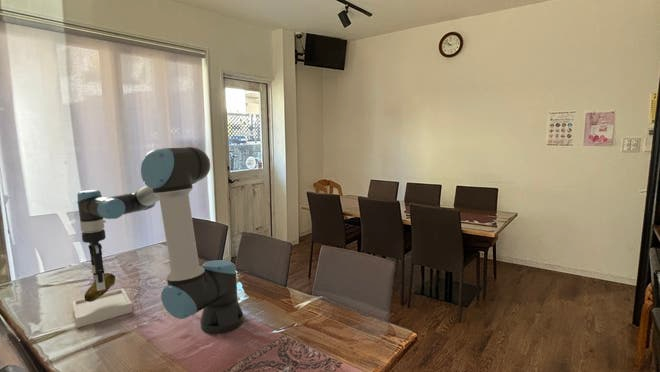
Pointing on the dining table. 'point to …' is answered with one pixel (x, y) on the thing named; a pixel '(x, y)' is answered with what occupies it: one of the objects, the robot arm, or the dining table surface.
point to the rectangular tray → (101, 307)
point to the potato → (94, 294)
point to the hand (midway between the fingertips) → (99, 285)
